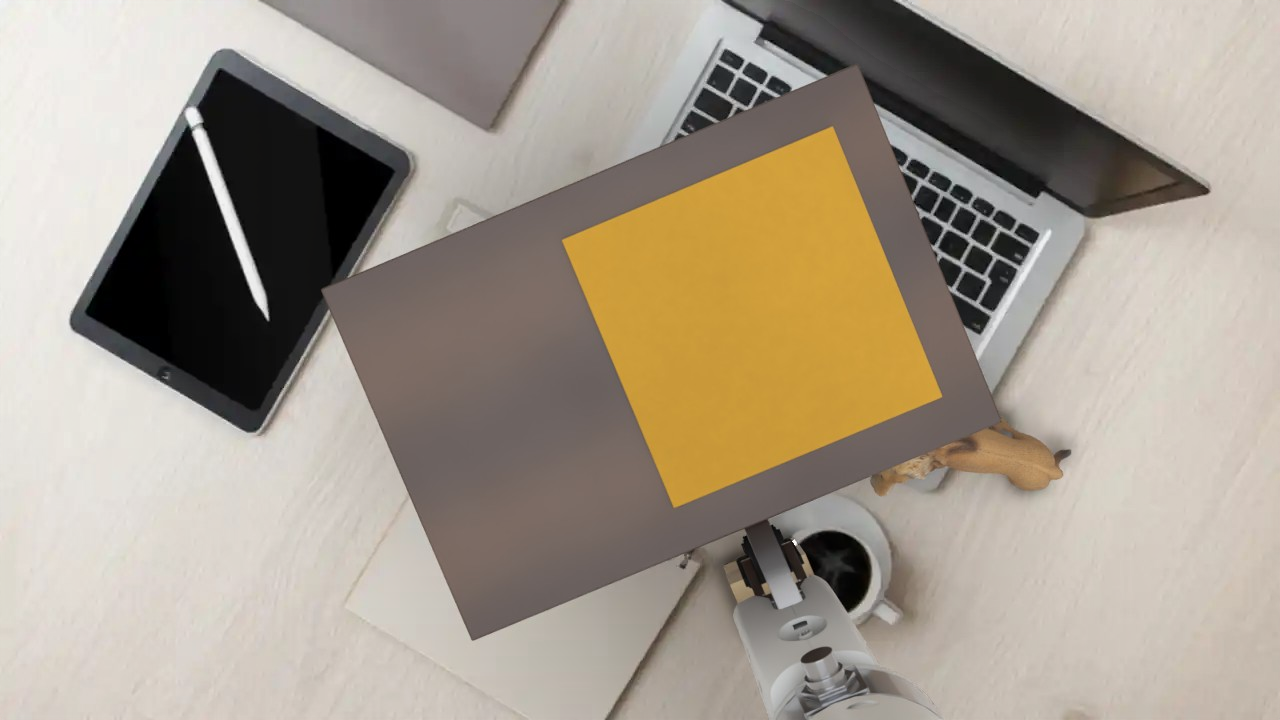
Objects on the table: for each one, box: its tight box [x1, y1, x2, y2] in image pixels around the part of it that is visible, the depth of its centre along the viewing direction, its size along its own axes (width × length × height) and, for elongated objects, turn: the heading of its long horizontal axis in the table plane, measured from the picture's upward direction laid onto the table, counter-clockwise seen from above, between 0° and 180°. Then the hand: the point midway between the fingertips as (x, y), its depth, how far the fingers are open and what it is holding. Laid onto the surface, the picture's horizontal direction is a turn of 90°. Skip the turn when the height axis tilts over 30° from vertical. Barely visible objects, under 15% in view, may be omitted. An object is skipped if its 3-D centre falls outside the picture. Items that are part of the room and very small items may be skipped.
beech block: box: [723, 536, 815, 604], centre depth 70 cm, size 5×5×5 cm
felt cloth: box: [562, 126, 942, 508], centre depth 45 cm, size 12×12×1 cm
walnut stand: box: [320, 63, 1002, 642], centre depth 58 cm, size 16×24×26 cm, turn 113°
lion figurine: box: [869, 417, 1072, 497], centre depth 67 cm, size 15×5×9 cm, turn 87°
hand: (798, 633), depth 60 cm, fingers open, 9 cm apart
